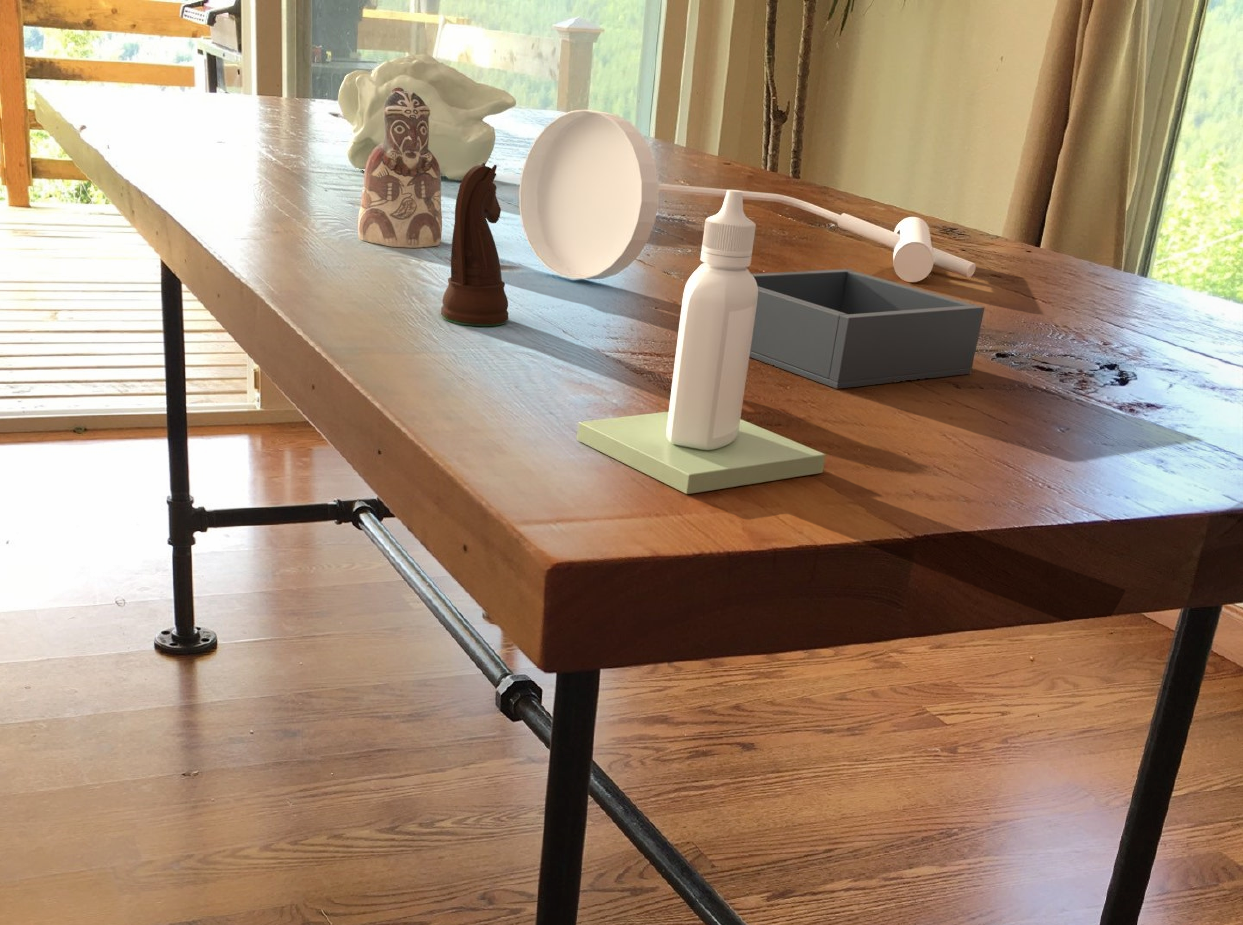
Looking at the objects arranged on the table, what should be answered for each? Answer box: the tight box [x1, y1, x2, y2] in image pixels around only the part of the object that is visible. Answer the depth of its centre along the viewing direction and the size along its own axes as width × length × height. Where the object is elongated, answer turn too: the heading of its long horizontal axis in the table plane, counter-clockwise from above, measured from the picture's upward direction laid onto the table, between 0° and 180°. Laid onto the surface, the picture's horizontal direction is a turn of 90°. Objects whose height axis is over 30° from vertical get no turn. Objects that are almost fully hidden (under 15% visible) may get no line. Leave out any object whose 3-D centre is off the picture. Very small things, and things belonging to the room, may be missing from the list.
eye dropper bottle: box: [667, 189, 758, 450], centre depth 70 cm, size 4×6×12 cm
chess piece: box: [440, 163, 509, 327], centre depth 95 cm, size 5×5×10 cm
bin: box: [749, 268, 986, 390], centre depth 95 cm, size 13×13×4 cm
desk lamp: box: [518, 109, 977, 283], centre depth 123 cm, size 12×22×45 cm
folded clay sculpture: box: [337, 53, 517, 181], centre depth 159 cm, size 18×13×16 cm
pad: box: [576, 411, 826, 495], centre depth 72 cm, size 9×9×1 cm
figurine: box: [357, 87, 443, 249], centre depth 119 cm, size 7×7×12 cm
